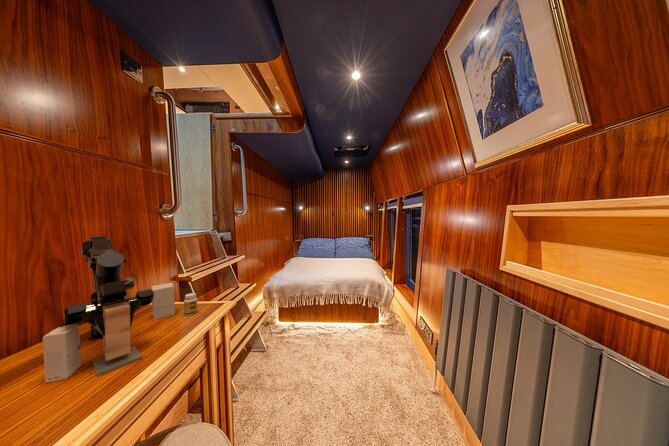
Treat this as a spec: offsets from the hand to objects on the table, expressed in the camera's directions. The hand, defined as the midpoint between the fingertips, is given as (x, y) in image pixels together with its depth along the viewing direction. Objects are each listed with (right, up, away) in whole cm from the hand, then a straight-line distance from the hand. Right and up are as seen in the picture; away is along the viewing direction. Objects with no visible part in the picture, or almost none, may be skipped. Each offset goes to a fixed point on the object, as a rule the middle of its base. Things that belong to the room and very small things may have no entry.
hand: (117, 331), depth 63 cm
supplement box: (-11, -9, +31) cm, 34 cm away
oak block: (-1, -7, +1) cm, 7 cm away
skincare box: (-11, -10, -4) cm, 15 cm away
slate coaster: (-1, -9, +1) cm, 9 cm away
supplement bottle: (0, -9, +32) cm, 33 cm away
